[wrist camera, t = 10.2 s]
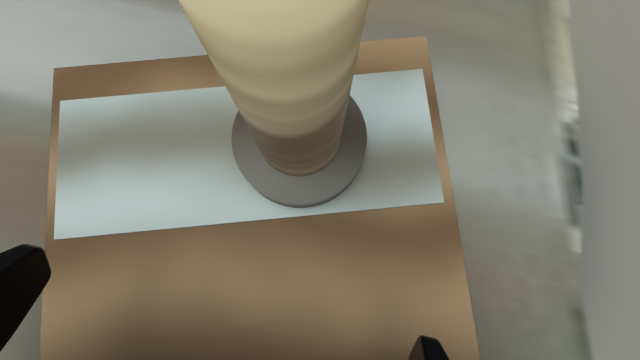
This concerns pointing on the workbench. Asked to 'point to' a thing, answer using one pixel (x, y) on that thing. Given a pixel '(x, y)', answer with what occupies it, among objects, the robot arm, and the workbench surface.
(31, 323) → the workbench surface
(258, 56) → the post
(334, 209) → the board
